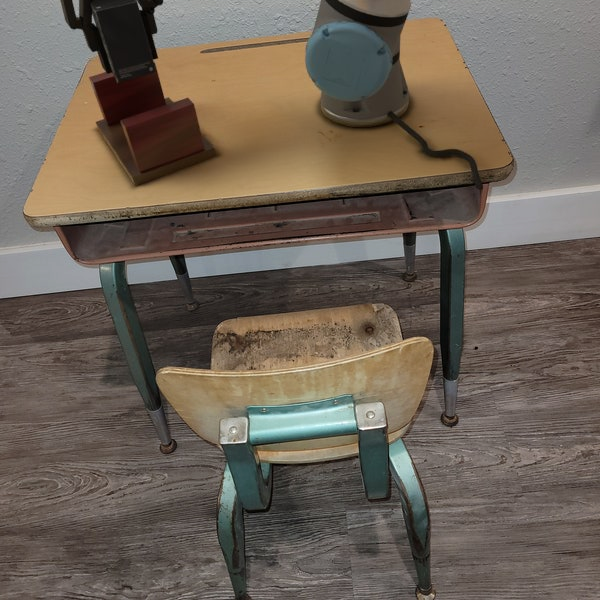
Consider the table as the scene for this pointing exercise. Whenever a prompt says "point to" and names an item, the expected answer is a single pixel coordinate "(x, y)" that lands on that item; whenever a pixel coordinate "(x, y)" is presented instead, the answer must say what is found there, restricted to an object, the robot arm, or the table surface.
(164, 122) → the book stand
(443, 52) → the table surface
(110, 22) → the small box
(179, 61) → the table surface
